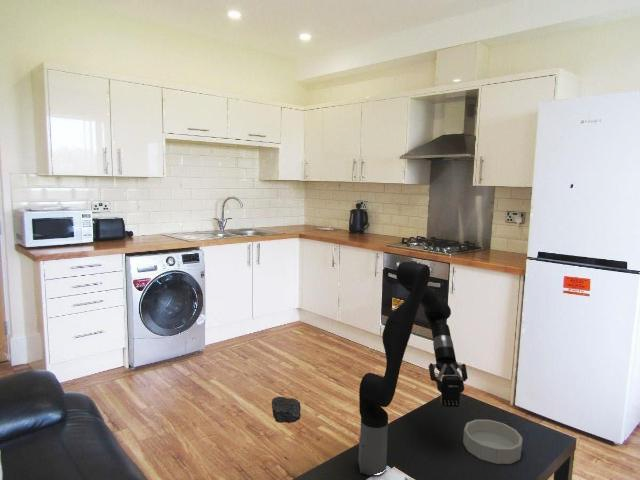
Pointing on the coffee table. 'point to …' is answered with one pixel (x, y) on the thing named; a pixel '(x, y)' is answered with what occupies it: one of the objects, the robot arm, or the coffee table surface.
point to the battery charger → (451, 390)
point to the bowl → (492, 441)
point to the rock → (286, 409)
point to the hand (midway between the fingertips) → (451, 391)
